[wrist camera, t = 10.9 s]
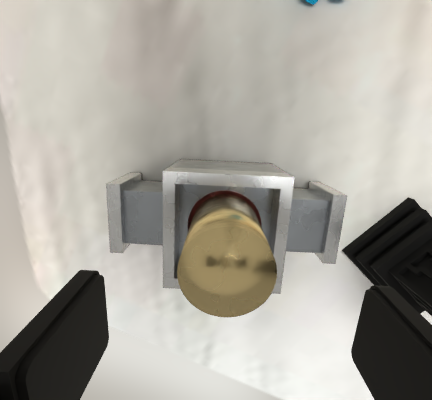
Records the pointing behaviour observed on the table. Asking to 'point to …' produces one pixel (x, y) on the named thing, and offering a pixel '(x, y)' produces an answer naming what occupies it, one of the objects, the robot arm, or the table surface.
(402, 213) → the chess piece
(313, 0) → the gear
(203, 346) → the table surface
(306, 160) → the table surface
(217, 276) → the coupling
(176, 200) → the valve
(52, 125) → the table surface
